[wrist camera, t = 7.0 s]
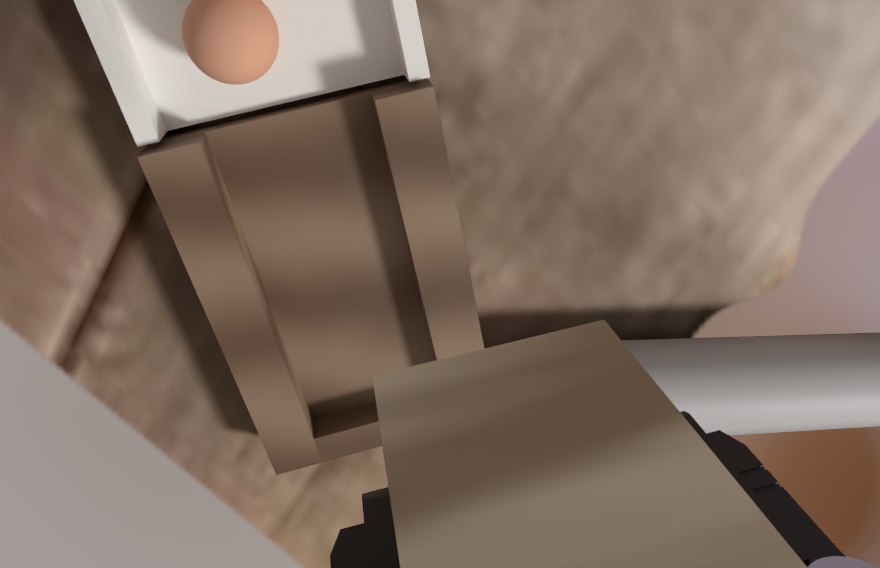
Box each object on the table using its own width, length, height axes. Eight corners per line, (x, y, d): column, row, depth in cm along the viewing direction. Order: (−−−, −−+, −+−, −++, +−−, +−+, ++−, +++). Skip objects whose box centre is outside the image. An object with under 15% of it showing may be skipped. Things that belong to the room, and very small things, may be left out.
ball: (175, -26, 22) (150, 56, 21) (242, -47, 20) (217, 40, 20) (242, 32, 25) (222, 106, 24) (306, 18, 23) (286, 96, 22)
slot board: (151, 139, 25) (137, 157, 23) (423, 74, 26) (434, 86, 24) (278, 439, 33) (276, 474, 31) (484, 383, 34) (497, 413, 31)
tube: (514, 472, 31) (940, 443, 36) (540, 411, 28) (1011, 387, 32) (493, 383, 35) (882, 367, 40) (513, 319, 31) (940, 309, 36)
